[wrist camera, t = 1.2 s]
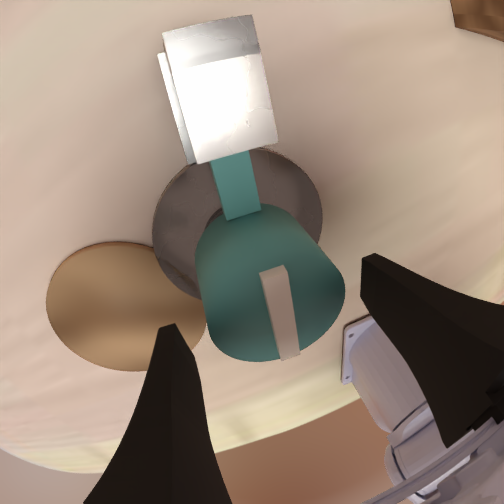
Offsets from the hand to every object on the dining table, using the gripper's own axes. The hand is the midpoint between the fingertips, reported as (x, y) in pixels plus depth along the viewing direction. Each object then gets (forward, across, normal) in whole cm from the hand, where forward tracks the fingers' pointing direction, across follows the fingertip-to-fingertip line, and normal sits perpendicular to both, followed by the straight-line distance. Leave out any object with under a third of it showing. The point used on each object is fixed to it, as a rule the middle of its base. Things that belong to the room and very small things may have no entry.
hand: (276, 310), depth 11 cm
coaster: (+6, +8, +3) cm, 11 cm away
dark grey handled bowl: (+6, 0, -2) cm, 7 cm away
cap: (+4, 0, -2) cm, 4 cm away
